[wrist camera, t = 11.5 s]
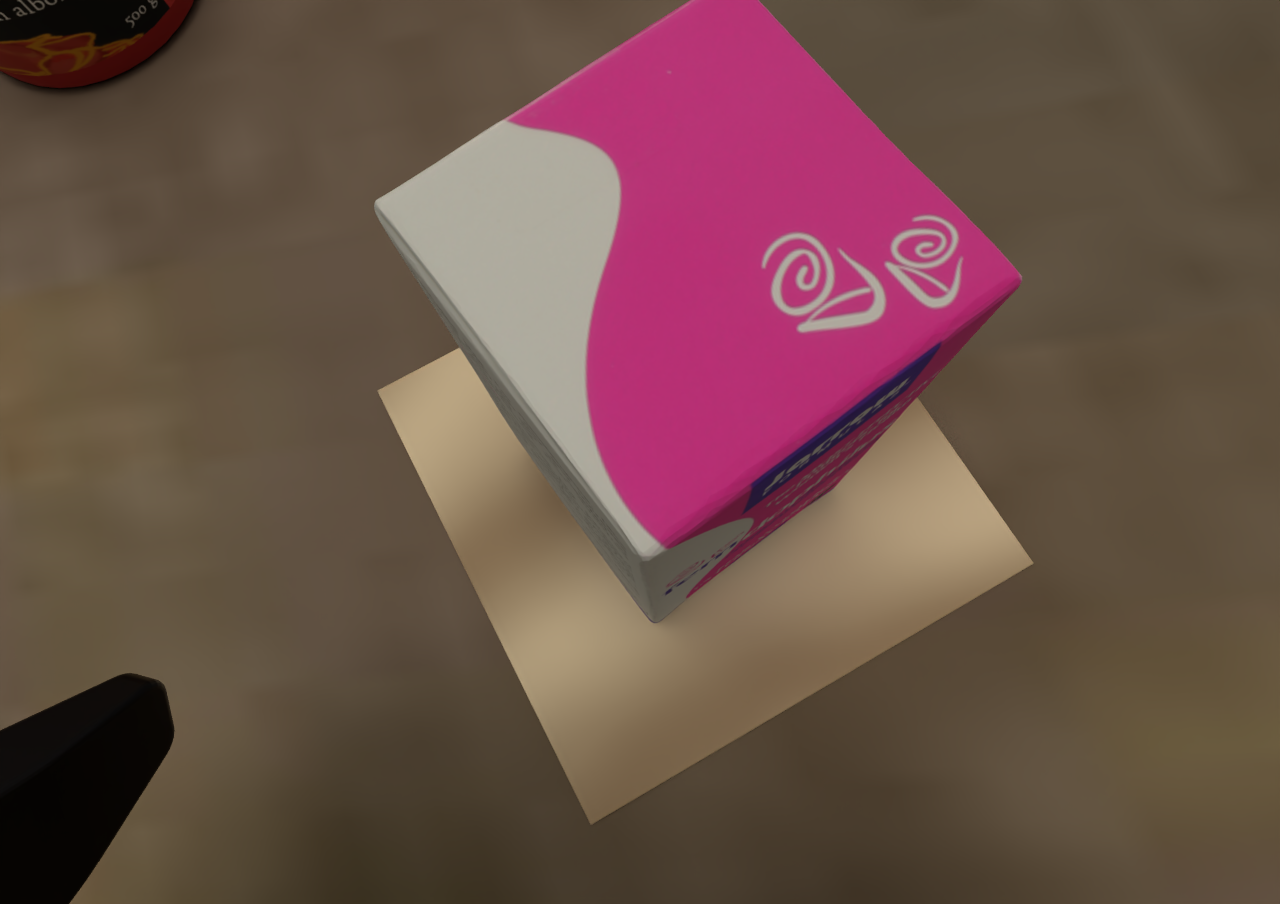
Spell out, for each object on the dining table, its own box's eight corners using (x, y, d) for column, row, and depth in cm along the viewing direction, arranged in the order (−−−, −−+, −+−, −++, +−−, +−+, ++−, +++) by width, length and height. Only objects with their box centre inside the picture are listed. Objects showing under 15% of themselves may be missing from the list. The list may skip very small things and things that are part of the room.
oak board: (1013, 570, 21) (1033, 563, 20) (596, 817, 20) (591, 824, 19) (764, 209, 24) (768, 185, 23) (392, 405, 23) (377, 390, 22)
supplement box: (658, 636, 20) (628, 577, 9) (520, 445, 21) (340, 184, 10) (848, 492, 20) (1044, 266, 9) (701, 317, 22) (720, -58, 11)
